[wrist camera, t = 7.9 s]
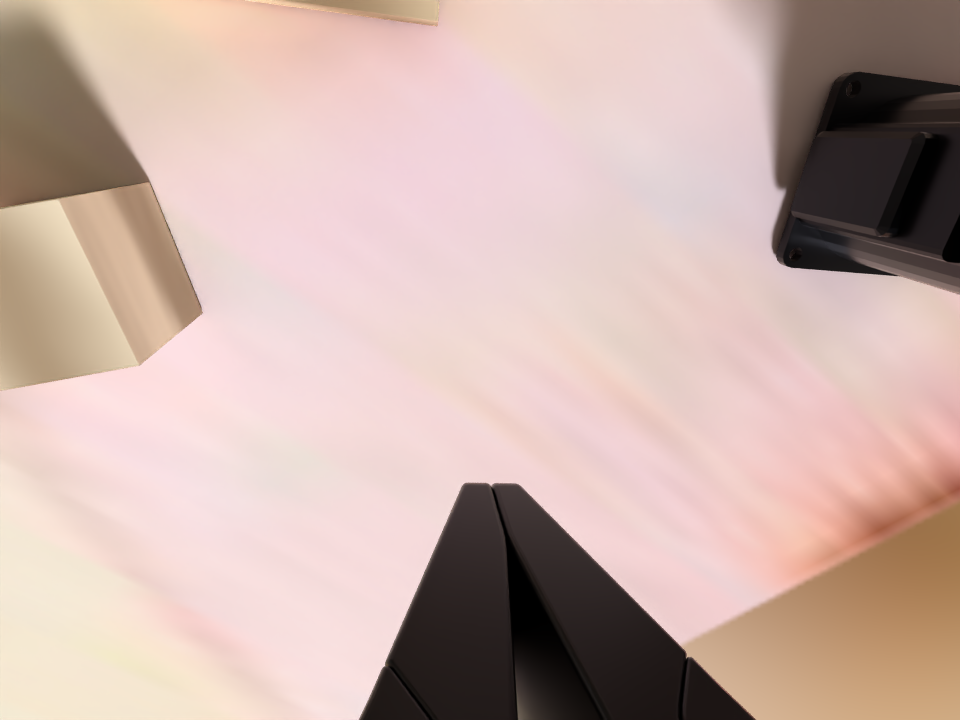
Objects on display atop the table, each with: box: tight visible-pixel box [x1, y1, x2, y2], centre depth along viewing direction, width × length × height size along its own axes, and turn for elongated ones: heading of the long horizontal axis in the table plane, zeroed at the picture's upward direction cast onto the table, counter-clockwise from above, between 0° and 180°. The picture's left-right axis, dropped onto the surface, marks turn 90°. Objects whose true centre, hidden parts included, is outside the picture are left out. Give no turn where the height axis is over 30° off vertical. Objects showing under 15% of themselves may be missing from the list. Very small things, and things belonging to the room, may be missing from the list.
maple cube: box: [0, 182, 203, 391], centre depth 15 cm, size 4×4×4 cm
